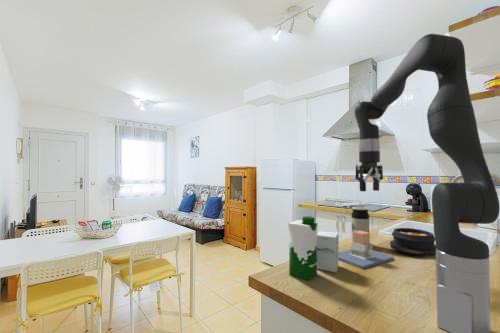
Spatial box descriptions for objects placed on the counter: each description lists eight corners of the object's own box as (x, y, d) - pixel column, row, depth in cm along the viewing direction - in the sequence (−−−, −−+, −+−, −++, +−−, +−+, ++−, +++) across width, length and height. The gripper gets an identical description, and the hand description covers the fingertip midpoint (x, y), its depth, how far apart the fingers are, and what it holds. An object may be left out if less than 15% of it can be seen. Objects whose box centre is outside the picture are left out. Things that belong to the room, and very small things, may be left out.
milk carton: (309, 282, 77) (309, 220, 78) (285, 274, 83) (285, 217, 84) (320, 273, 84) (320, 216, 85) (297, 267, 90) (297, 213, 90)
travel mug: (367, 242, 120) (367, 207, 121) (371, 247, 113) (370, 209, 113) (350, 241, 123) (350, 206, 123) (352, 246, 115) (352, 208, 116)
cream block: (364, 258, 96) (364, 246, 96) (351, 254, 101) (351, 242, 101) (371, 256, 98) (371, 244, 98) (358, 252, 103) (358, 240, 103)
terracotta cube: (362, 245, 97) (362, 234, 97) (353, 242, 100) (353, 231, 101) (369, 243, 99) (369, 232, 99) (360, 241, 103) (359, 230, 103)
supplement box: (315, 269, 88) (314, 234, 88) (319, 262, 95) (319, 230, 95) (336, 273, 85) (336, 237, 85) (339, 265, 91) (338, 232, 91)
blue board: (362, 269, 88) (362, 266, 88) (330, 256, 101) (330, 253, 101) (393, 259, 98) (393, 256, 98) (360, 249, 111) (360, 246, 111)
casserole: (428, 262, 95) (428, 241, 95) (379, 250, 109) (379, 231, 110) (446, 249, 110) (445, 231, 111) (401, 240, 125) (400, 224, 125)
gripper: (366, 149, 90) (367, 192, 90) (388, 150, 97) (389, 190, 97) (349, 150, 97) (350, 191, 96) (371, 152, 104) (371, 189, 103)
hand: (369, 190), depth 97 cm, fingers open, 8 cm apart
